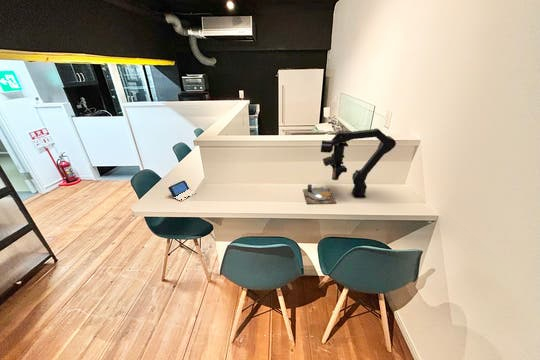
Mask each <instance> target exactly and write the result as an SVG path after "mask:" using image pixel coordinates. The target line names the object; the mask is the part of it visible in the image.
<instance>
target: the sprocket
mask: <svg viewBox="0 0 540 360" xmlns="http://www.w3.org/2000/svg"><path fill="white" fill-rule="evenodd" d="M307 189H308V192H307V193H306V196H308V197H309V198H311V199H313V200H314V201H325V200H328V201H329V200H330V197H331V195H333V192H332V191H331V190H330V191H328V190H327V189H328V188H324V187H323V186H320V187H313V185H312V184H311V183H310V184H307Z"/></svg>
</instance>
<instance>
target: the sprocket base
mask: <svg viewBox="0 0 540 360" xmlns="http://www.w3.org/2000/svg"><path fill="white" fill-rule="evenodd" d="M326 189H327V190H328V191H331V189H330V188H326ZM302 192H303V195H304V199H305V201H306V205H337V201H336V199H335V197H334V195H333V194H332V195H331V197H330V200H329V201H328V200H325V201H314V200H313V199H311V198H309V197H308V196H306V193H307V192H308V188H303V189H302Z"/></svg>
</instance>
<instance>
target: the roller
mask: <svg viewBox="0 0 540 360" xmlns="http://www.w3.org/2000/svg"><path fill="white" fill-rule="evenodd" d="M339 179H340V176H339V177H338V179H335V171H334V170H333V169H332V175H331V180H332V181H339Z"/></svg>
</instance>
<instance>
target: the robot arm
mask: <svg viewBox="0 0 540 360" xmlns="http://www.w3.org/2000/svg"><path fill="white" fill-rule="evenodd" d="M368 138H376V139H377V140H379V144H378V146H377V149H376V151H374V153H373V154H372V155H371V156H370V158H369V159H368V160H367V162H366V163H365V164H364V165H363V167H362V168H361V169H359V170H358V169H355V171H354V173H352V176H351V177H352V183H353V187H352V191H351V194H352V195H353V197H354V198H355V199H357V198H361V199H363V198H366V197H367V196H366V190H367V189H368V186H367V184H366V179H367V177H368V174H369V173H371V172H372V170H373V169H374V167H376V165H377V164H378V162H379V161H380V160H381V159H382V158H383V157H384V156H385V154H388V153H389V152H391V151H392V150H393V149H394V148H395V147H396V146H397V142H396V140H395V139H394V138H393V137H392V136H389V135H386V134H385V133H383V132H382V131H381V130H380V128H378V127H377V128H372V129H362V130H356V131H355V130H354V131H351V130H350V131H349V130H342V129H341V130H338V131H337V132H335V134H334V137H332V139H331V140H321V145H320V153H326V154H328V153H329V154H331V153H332V152H333V153H332V154H331V156H327V157H325V158H322V161H323V165H324V166H325V167H328V166H330V167H331V168H332V171H333V170H334V171H335V179H338V177H339V178H340V176H341V174H342V173H347V171H348V168H347V167H346V165H345V164H344V162H343V159H344V158H345V155H344V153H345V152H344V151H345V147H349V143H348V142H349V141H352V140H359V139H360V140H361V139H368ZM338 180H339V179H338Z"/></svg>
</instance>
